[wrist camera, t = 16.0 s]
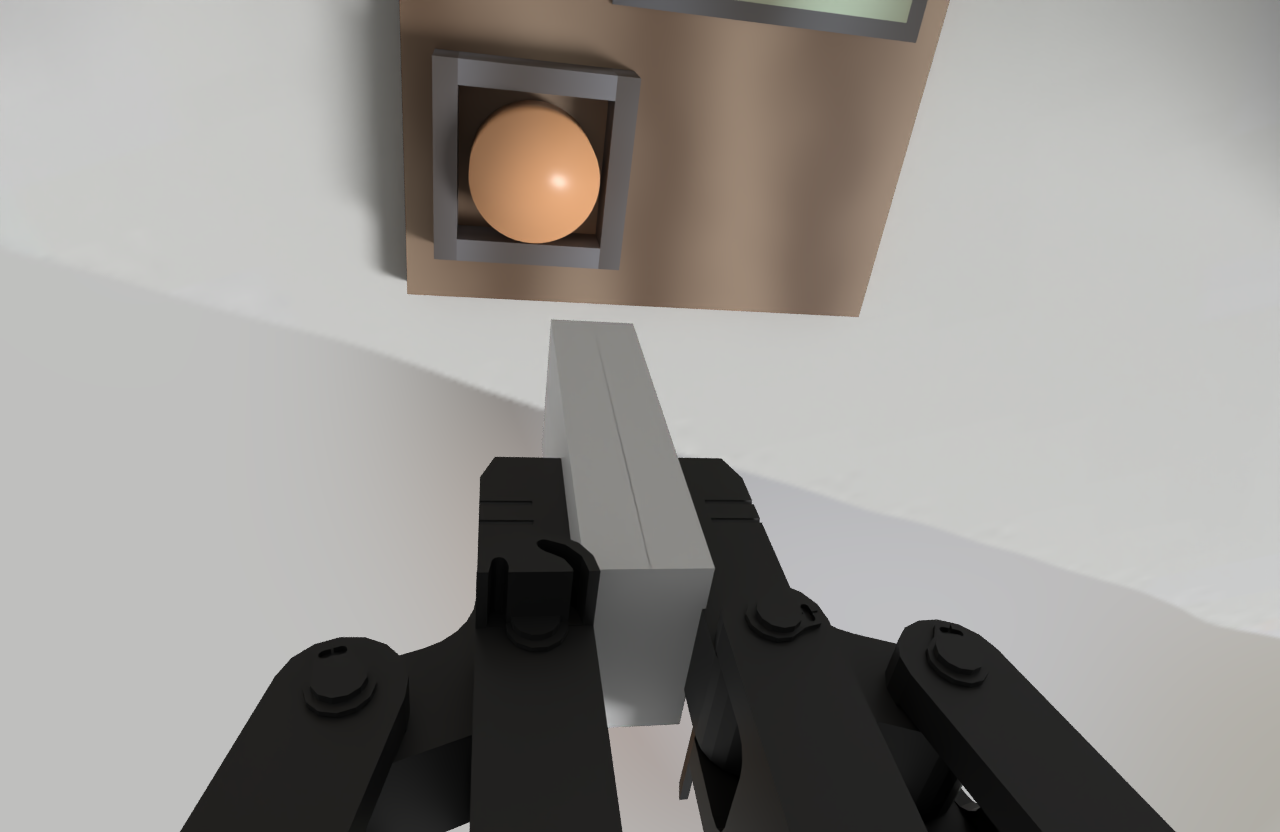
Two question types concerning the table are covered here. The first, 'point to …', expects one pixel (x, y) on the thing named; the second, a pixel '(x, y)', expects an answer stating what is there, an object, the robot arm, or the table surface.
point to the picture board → (671, 145)
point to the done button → (533, 172)
